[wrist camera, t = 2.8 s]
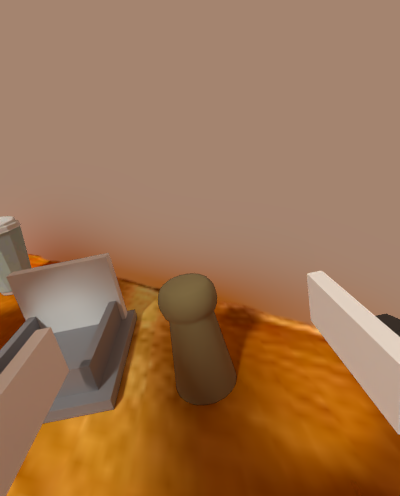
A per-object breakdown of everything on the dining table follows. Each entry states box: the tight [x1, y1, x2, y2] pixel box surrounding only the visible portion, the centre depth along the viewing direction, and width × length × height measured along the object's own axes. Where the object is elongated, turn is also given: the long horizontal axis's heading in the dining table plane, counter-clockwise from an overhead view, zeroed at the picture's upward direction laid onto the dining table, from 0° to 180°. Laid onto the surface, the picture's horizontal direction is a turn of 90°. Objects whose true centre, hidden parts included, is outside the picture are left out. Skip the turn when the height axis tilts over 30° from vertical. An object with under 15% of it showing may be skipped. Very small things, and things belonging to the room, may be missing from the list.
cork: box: [158, 274, 237, 405], centre depth 27 cm, size 6×6×11 cm
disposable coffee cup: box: [0, 216, 31, 295], centre depth 61 cm, size 11×11×15 cm
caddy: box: [0, 253, 137, 423], centre depth 34 cm, size 16×15×10 cm
